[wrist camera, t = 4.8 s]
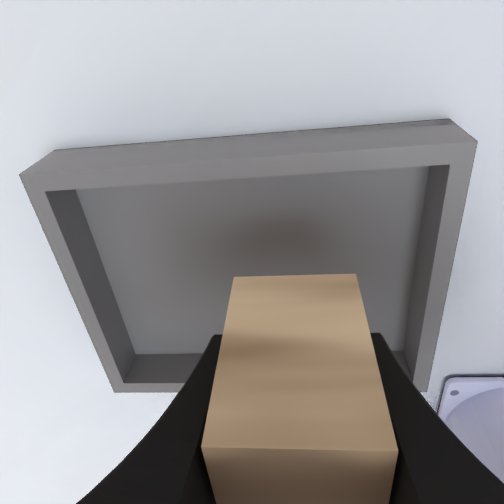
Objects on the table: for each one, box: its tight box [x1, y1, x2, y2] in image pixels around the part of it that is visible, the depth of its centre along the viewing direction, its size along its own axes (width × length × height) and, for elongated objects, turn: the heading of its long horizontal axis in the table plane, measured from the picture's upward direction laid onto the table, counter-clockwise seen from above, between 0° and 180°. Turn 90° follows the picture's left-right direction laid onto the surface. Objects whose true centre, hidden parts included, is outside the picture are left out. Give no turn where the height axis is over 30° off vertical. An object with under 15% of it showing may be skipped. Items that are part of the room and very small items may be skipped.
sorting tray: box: [19, 119, 478, 393], centre depth 20 cm, size 14×18×3 cm
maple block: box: [201, 274, 398, 504], centre depth 12 cm, size 4×4×6 cm
